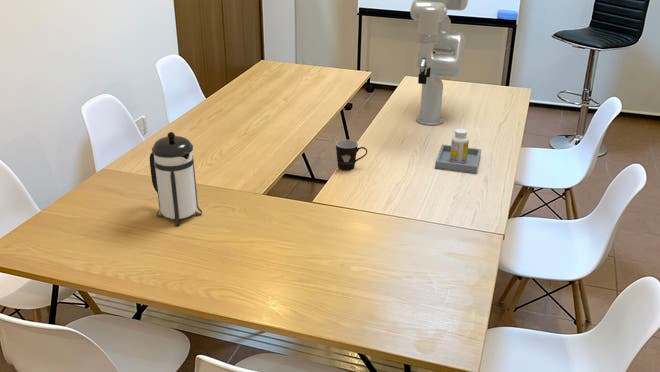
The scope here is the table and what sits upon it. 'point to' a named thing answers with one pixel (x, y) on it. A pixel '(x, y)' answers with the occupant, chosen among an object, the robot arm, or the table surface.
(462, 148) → the supplement bottle
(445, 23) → the robot arm
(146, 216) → the table surface
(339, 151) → the coffee mug
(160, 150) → the coffee press
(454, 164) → the tray
